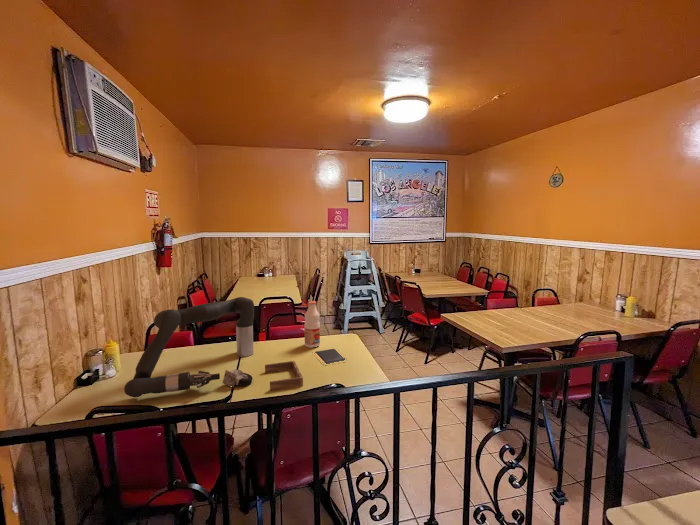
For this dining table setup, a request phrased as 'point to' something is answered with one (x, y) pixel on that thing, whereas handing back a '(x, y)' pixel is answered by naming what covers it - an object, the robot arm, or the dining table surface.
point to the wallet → (329, 356)
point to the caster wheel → (237, 378)
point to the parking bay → (285, 382)
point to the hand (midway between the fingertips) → (219, 376)
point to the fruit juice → (312, 326)
